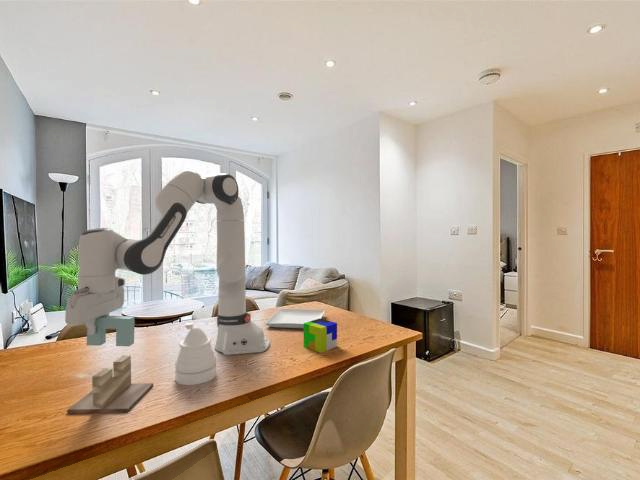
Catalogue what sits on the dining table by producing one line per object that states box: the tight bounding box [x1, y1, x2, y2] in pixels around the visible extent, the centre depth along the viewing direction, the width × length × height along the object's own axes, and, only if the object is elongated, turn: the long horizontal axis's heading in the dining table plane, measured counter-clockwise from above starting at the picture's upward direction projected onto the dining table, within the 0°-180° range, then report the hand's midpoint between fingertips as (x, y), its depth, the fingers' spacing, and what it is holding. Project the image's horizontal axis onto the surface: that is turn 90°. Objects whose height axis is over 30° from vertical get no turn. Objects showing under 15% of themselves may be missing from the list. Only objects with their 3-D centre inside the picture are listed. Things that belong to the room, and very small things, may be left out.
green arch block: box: [86, 315, 135, 347], centre depth 92 cm, size 12×2×8 cm, turn 92°
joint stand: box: [66, 354, 154, 414], centre depth 93 cm, size 16×14×10 cm
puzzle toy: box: [303, 318, 338, 354], centre depth 134 cm, size 10×10×10 cm
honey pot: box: [174, 322, 217, 386], centre depth 107 cm, size 13×13×18 cm
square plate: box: [264, 308, 326, 330], centre depth 169 cm, size 27×27×4 cm
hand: (97, 331), depth 92 cm, fingers closed on green arch block, 2 cm apart
